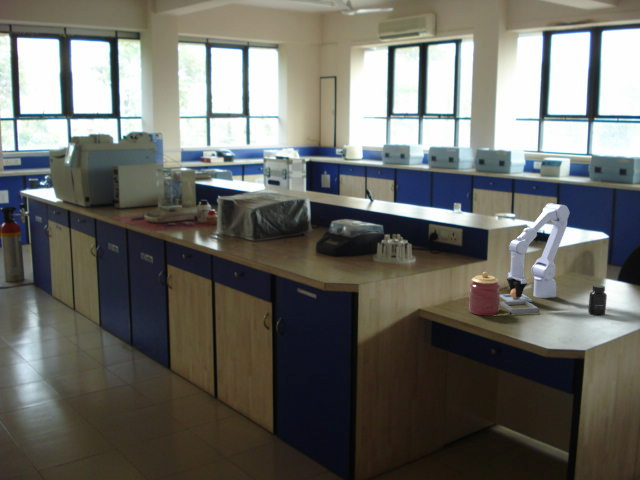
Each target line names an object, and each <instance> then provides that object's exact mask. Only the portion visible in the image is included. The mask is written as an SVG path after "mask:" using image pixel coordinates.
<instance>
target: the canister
mask: <svg viewBox="0 0 640 480" xmlns="http://www.w3.org/2000/svg"><path fill="white" fill-rule="evenodd" d="M499 282H500V281H499V279H498V278H497V277H495V276H493V275H489V273H488V272H487V271H483V272H482V274H478V275H475V276H474V277H472V278H471V282H470V283H469V287H470V290H469V291H468V294H469V297H468V300H469V303H468V311H469V312H470V313H471V314H473V315H476V316H477V315H478V316H495V315H497V314H499V311H500V298H501V297H500V295H501V293H500V288H501V285H500V284H499Z"/></svg>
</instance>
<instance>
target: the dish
mask: <svg viewBox="0 0 640 480" xmlns="http://www.w3.org/2000/svg"><path fill="white" fill-rule="evenodd" d="M500 298H501V299H503V300H505V302H508V301H527V302H529V303H530V302H531V303H532V302H533V301H534V300H533V299H532V298H530V297H528V296H527V295H525V294H524V293H522V296H521V297H520V298H519V299H514V298H512V297H511V295H510V293H508V294H507V293H505V294H500Z"/></svg>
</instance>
